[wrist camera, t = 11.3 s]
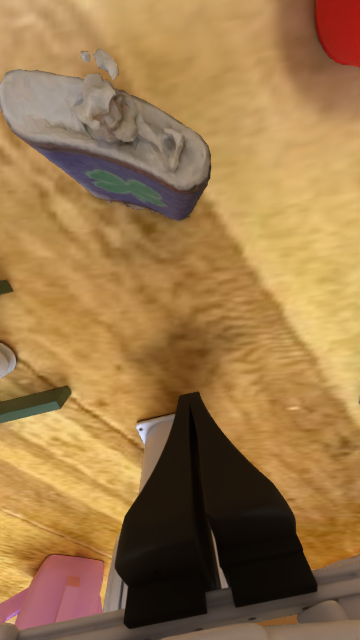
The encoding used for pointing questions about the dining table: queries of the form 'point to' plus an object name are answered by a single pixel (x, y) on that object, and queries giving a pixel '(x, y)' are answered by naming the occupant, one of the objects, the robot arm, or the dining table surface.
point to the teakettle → (57, 593)
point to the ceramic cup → (339, 29)
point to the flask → (108, 138)
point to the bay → (34, 402)
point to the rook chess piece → (6, 360)
